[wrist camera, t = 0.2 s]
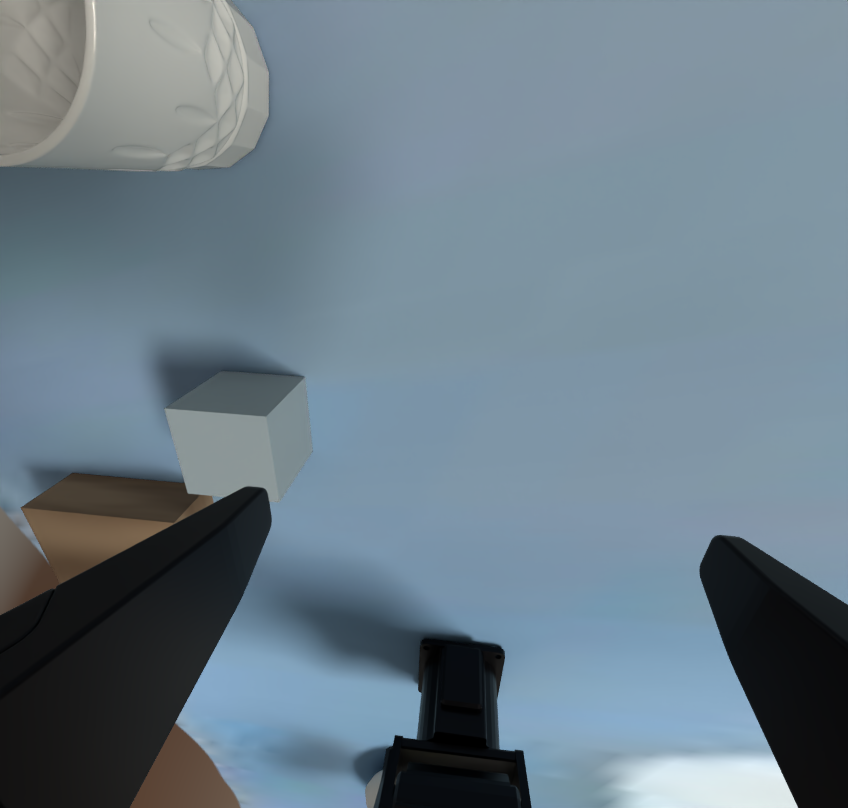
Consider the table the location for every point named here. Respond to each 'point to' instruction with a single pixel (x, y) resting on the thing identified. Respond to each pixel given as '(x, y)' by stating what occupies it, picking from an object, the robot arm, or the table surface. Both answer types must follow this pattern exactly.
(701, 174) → the table surface
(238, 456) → the gray cube
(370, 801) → the flower in vase
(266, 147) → the table surface
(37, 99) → the white cup
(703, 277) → the table surface
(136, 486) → the tan block
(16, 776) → the robot arm
